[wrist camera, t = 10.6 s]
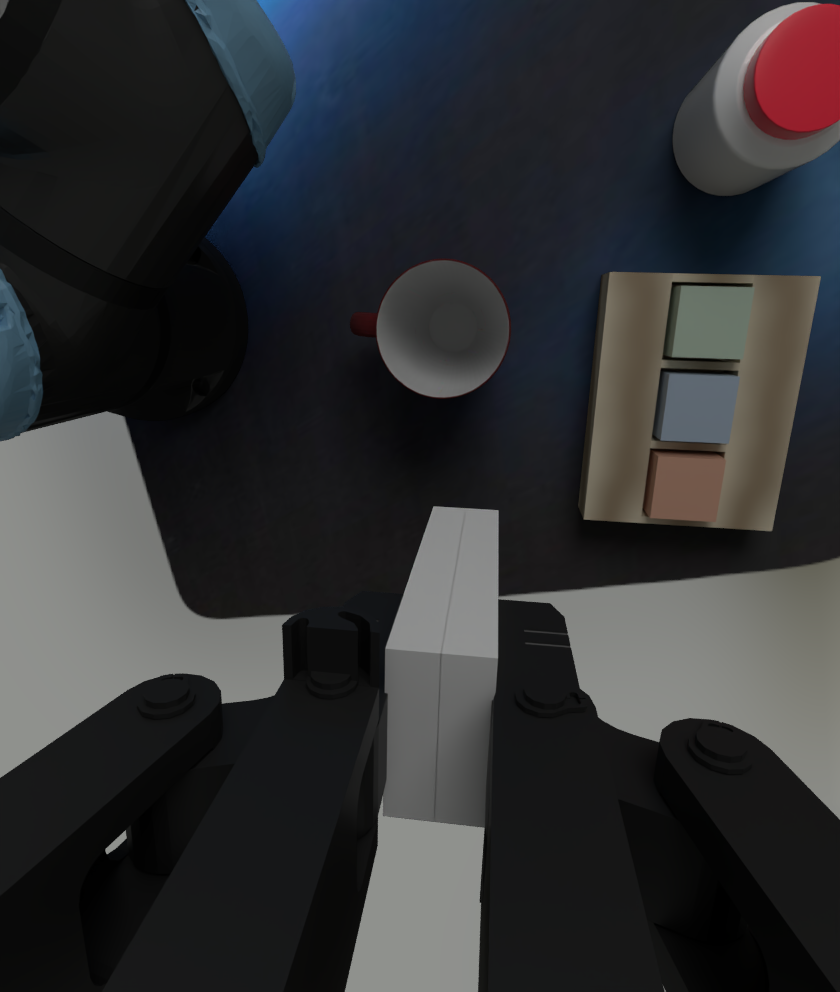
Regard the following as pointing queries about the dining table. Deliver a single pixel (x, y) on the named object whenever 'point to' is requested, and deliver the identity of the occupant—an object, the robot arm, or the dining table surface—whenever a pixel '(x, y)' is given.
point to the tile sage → (708, 322)
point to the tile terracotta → (683, 484)
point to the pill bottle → (764, 102)
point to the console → (639, 358)
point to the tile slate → (695, 406)
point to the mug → (440, 328)
